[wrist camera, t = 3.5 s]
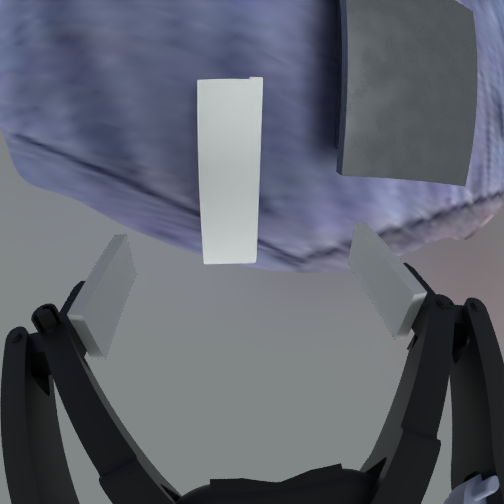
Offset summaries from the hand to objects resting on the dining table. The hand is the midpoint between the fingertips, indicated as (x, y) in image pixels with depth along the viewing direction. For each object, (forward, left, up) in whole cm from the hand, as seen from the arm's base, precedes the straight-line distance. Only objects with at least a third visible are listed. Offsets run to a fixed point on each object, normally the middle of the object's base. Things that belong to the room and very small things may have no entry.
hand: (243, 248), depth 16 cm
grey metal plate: (+19, +13, -21) cm, 31 cm away
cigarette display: (-1, 0, -21) cm, 21 cm away
